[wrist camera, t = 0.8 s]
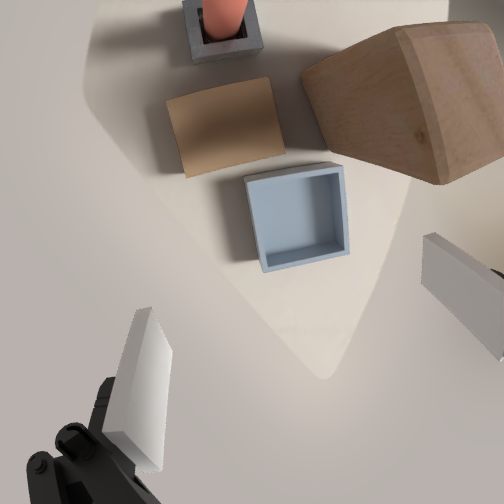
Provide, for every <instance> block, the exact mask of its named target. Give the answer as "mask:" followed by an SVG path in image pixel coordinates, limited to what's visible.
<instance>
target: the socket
mask: <svg viewBox="0 0 504 504" xmlns="http://www.w3.org/2000/svg"><path fill="white" fill-rule="evenodd" d="M182 4H183V10H184V16H185V21H186V27H187V33H188V38H189V44H190V49H191V54H192V60H193V63H194V65H195V64H200V63H205V62H210V61H215V60H221V59H227V58H233V57H240V56H247V55H254V54H259V53H260V52H261V50H262V49H263V43H262V38H261V33H260V28H259V24H258V19H257V14H256V10H255V5H254V1H253V0H248V2H247V5H246V8H245V11H244V15H243V18H242V21H241V27H242V32H243V37H244V38H242V39H235V40H228V41H222V42H216V43H210V44H205V45H203V40H202V34H201V29H200V24H199V18H198V17H203V6H202V0H184V1H182Z"/></svg>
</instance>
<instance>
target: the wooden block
mask: <svg viewBox="0 0 504 504" xmlns="http://www.w3.org/2000/svg"><path fill="white" fill-rule="evenodd" d="M301 82H302V84H303V87H304V89H305V92H306V94H307V96H308V99H309V101H310V104H311V106H312V108H313V111H314V113H315V116H316V119H317V121H318V124H319V126H320V129H321V131H322V134H323V137H324V139H325V142H326V145H327V147H328V148H329V150H330V151H331V152H333V153H337V154H341V155H344V156H348V157H351V158H355V159H358V160H362V161H365V162H368V163H372V164H375V165H378V166H381V167H384V168H387V169H391V170H394V171H397V172H400V173H403V174H405V175H408V176H411V177H414V178H417V179H420V180H423V181H425V182H428V183H431V184H433V185H445V184H448V183H450V182H452V181H455V180H457V179H458V178H461V177H463V176H465V175H467V174H469V173H471V172H473V171H475V170H477V169H479V168H481V167H483V166H485V165H487V164H489V163H491V162H493V161H495V160H497V159H499V158H501V157H503V156H504V65H503V62H502V59H501V55H500V52H499V49H498V46H497V43H496V40H495V37H494V35H493V32H492V31H491V29H490V28H489V26H488V25H486V24H484V23H481V22H478V21H450V22H434V23H423V24H413V25H405V26H397V27H393V28H391V29H388V30H386V31H383V32H381V33H379V34H377V35H374V36H372V37H370V38H368V39H365V40H363V41H361V42H359V43H357V44H355V45H352V46H350V47H348V48H346V49H344V50H342V51H340V52H338V53H336V54H334V55H332V56H330V57H328V58H326V59H324V60H322V61H320V62H319V63H317V64H315V65H313V66H311V67H309V68H307V69H306V70H304V71H303V72H302V73H301Z"/></svg>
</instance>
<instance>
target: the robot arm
mask: <svg viewBox="0 0 504 504" xmlns="http://www.w3.org/2000/svg"><path fill="white" fill-rule="evenodd" d="M421 284H422V285H423V286H424V287H425V288H427V290H429V291H430V292H431V293H432V294H433V295H434V296H435V297H436V298H437V299H438V300H439V301H440V302H441V303H442V304H443V305H444V306H445V307H446V308H447V309H448V310H450V311H451V312H452V313H453V314H454V315H455V316H456V317H457V318H458V319H459V320H460V321H461V322H462V323H463V324H464V325H465V326H466V327H467V328H468V329H469V330H470V331H471V332H472V334H474V335H475V337H476V338H477V339H478V340H479V341H480V342H481V343H482V344H483V345H484V346H485V347H486V348H487V349H488V350H489V351H490V352H491V353H492V354H493V356H494V357H495V358H496V359H497V360H498V361H499V362H500V361H502V360H503V359H504V274H502V273H500V272H498V271H496V270H493V269H489V268H487V267H486V266H485V265H483V264H482V263H480V262H479V261H477V260H476V259H474V258H473V257H472V256H470V255H469V254H467V253H466V252H464V251H463V250H461V249H460V248H458V247H457V246H455V245H454V244H452V243H451V242H449V241H448V240H446V239H444V238H443V237H441V236H440V235H438V234H437V233H435V232H434V233H431V234H428V235H424V236H423V259H422V277H421ZM172 353H173V352H172V350H171V348H170V346H169V344H168V342H167V339H166V337H165V335H164V333H163V331H162V329H161V327H160V325H159V323H158V320H157V318H156V316H155V314H154V312H153V310H152V307H148V308H144V309H140V310H136V312H135V315H134V318H133V321H132V325H131V328H130V331H129V334H128V337H127V340H126V344H125V347H124V350H123V353H122V357H121V360H120V364H119V367H118V371H117V374H116V377H110V378H106V380H105V381H104V382H103V384H102V385H101V386H100V388H99V391H98V394H97V400H96V401H95V405H94V407H95V408H93V412H92V415H91V419H90V422H89V426H88V429H87V428H86V427H85V426H84V425H83V424H80V423H77V422H76V423H70V424H68V425H66V426H64V427H63V428H62V429H61V430H60V431H59V432H58V434H57V436H56V440H55V445H56V449H57V450H58V451H59V452H61V453H62V454H63V456H60V457H57V458H53V457H52V456H51V455H50V454H49V453H48V452H45V451H40V452H37V453H35V454H33V455H32V456H31V457H30V459H29V461H28V463H27V469H26V471H27V479H28V488H29V495H30V502H31V504H161V503H160V502H159V501H158V500H157V499H156V498H155V496H154V495H153V494H152V493H151V492H150V491H149V490H148V488H146V486H145V485H144V484H143V483H142V482H141V480H140V479H139V478H138V477H137V476H136V475H135V465H136V466H137V467H138V468H139V469H140V470H141V471H143V472H162V471H163V451H164V438H165V424H166V411H167V401H168V390H169V380H170V371H171V362H172Z"/></svg>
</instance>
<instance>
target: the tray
mask: <svg viewBox="0 0 504 504" xmlns="http://www.w3.org/2000/svg"><path fill="white" fill-rule="evenodd" d="M243 178H244V183H245V188H246V194H247V199H248V204H249V210H250V215H251V221H252V226H253V231H254V237H255V242H256V248H257V253H258V259H259V262H260V265H261V268H262V271H263V273H267V272H272V271H276V270H281V269H285V268H290V267H294V266H299V265H303V264H308V263H312V262H317V261H321V260H326V259H330V258H334V257H339V256H343V255H347V254H350V251H349V232H348V216H347V203H346V191H345V180H344V170H343V166H342V165H339V164H336V163H333V162H325V163H319V164H312V165H306V166H299V167H293V168H287V169H282V170H276V171H270V172H265V173H259V174H254V175H249V176H244V177H243Z"/></svg>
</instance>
